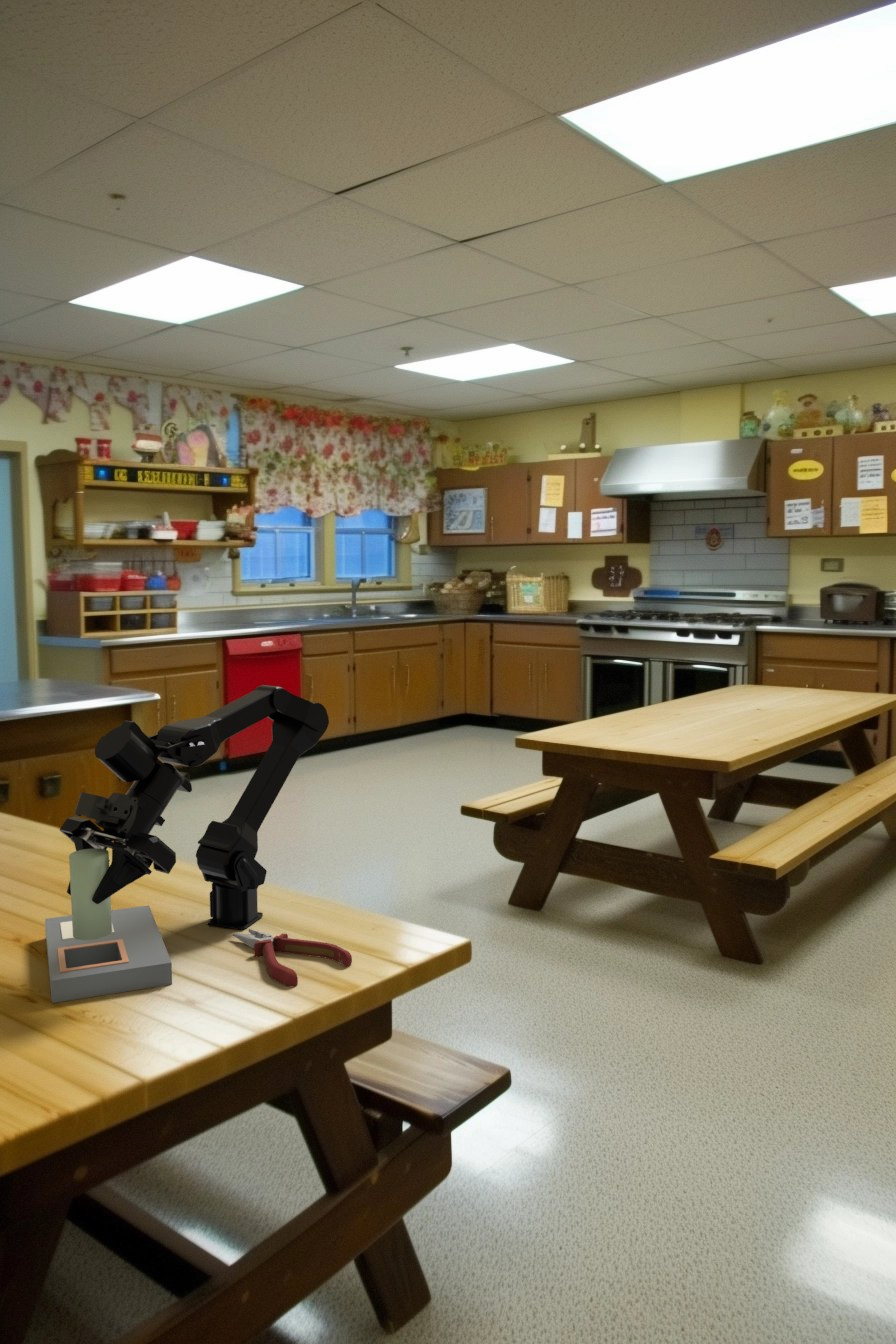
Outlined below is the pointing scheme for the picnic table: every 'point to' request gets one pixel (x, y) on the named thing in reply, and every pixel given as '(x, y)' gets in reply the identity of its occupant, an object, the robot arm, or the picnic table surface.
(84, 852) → the post
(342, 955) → the pliers
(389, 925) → the picnic table surface
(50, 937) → the slotted grey base
